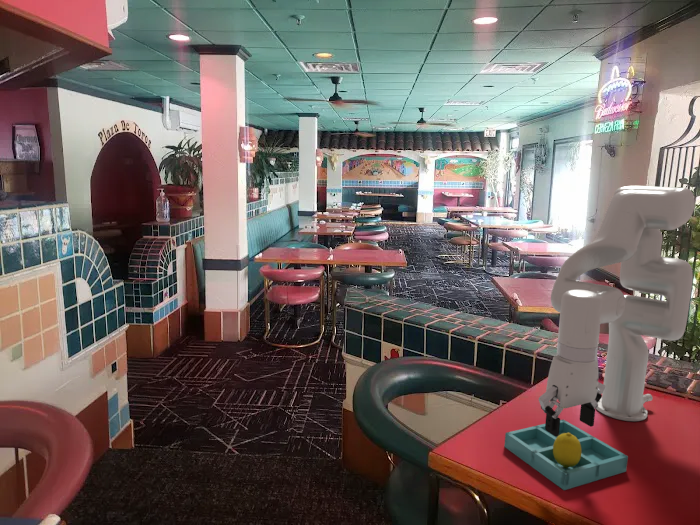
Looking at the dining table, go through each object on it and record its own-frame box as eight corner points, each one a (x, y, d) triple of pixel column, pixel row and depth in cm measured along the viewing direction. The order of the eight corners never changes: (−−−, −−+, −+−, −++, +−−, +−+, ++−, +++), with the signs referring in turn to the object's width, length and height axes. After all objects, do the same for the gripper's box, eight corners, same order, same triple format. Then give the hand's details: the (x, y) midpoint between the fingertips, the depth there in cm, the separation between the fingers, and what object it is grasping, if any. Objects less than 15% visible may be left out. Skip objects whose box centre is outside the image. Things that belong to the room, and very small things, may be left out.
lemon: (582, 476, 108) (586, 441, 106) (553, 473, 109) (557, 437, 107) (576, 462, 113) (579, 428, 112) (549, 459, 114) (552, 425, 113)
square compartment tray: (562, 432, 128) (563, 419, 127) (626, 471, 112) (628, 456, 111) (504, 446, 121) (505, 432, 120) (564, 490, 105) (565, 474, 104)
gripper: (592, 339, 113) (585, 412, 116) (530, 351, 106) (524, 428, 110) (623, 351, 106) (614, 428, 110) (558, 364, 99) (551, 446, 103)
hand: (569, 428), depth 110 cm, fingers open, 9 cm apart
